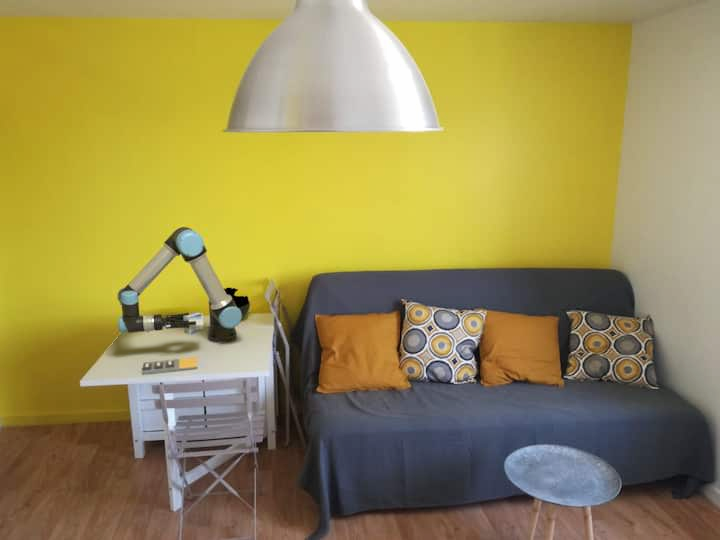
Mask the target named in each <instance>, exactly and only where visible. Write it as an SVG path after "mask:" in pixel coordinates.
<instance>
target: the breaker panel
mask: <svg viewBox="0 0 720 540" xmlns="http://www.w3.org/2000/svg"><path fill="white" fill-rule="evenodd" d="M194 370H198V360H197V356H193V357H191V356H190V357H183V358H182V357H181V358H176V359H174V358H173V359H164V360H155V361H145V362H143V364H142V370H141V371H142V372H141V375H142V374H143V375H142V376H145V375H144V374H148V375H156V374H165V373H174V372H175V373H176V372H183V371H184V372H185V371H194Z"/></svg>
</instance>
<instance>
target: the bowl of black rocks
mask: <svg viewBox="0 0 720 540" xmlns="http://www.w3.org/2000/svg"><path fill="white" fill-rule="evenodd" d="M223 288H224V290H225V292H226V294H227V295H231V297H232V299H233V300H234V302H235V304H236V306H237V308H239V309H240V311H241V313H242V318H244V317H245V316H246V315H247V314H248V312H249V310H250V307H251V302H250V301H249V296H248V295H245V296H244V295H235V294H236V293H237V292H238V291H239V289H238V288H235V287H233V288H232V286H231V287H226V288H225V287H223Z"/></svg>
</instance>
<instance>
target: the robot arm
mask: <svg viewBox="0 0 720 540" xmlns="http://www.w3.org/2000/svg"><path fill="white" fill-rule="evenodd" d="M207 253H208V250H207V248H206V246H205V244H204V239H203V237H202V236H201V234H200V233H198V232H197V231H195V230H193V229H192V228H190V227H187V226H186V227H185V226H182V227H179V228H177V229H175V230H174V231H173V232H172V233H171V234H170V236H168V237H167V239H166V240H165V241H164V242H163V246H162V247H161V248H160V249H159V251H157V253H156V254H155V255H154V256H153V257H152V258H151V259H150V260H149V261H148V262H147V263H146V264H145V266H143V267H142V269H141V270H140V271H139V272H138V273H137V274H136V275H135V276H134V277H133V278H132V280H131V281H130V282H129V283H128V284H127V285H126V286H125V287H122V288H120V289H119V290H118V292H117V300H118V302H119V304H120V306H121V313H122V316H121V317H118V322H117V323H118V324H117V327H118V332H120V333H121V334H131V333H140V332H142V333H143V332H147V333H149V332H153V331H155V332H156V331H163V330H164V329H163V328H164V327H165V329H168V330H169V329H184V328H189V326H194V325H202V326H204V316H203V314H204V313H201V314H202V319H195V320H189V321H183V316H186V315H189V312H186V313H178V314H167V315H166V317H163V315H162V314H161V313H160V314H159V313H158V314H153V315H152V314H147V315H146V314H145V315H140V304H139V300H140V299H139V296H141V294H142V293H143V292H144V291H145V290H146V289H147V288H148V286H150V285H151V283H153V281H154V280H155V279H156V278H157V277H158V276H159V275H160V274H161V273H162V272H163V270H164V269H165V268H166V267H167V266H168V265H170V263H171V262H172V261H173V259H175V258H176V257H179V256H181V257H182V259H183V261H184V262H185V263H188V264H190V267H191V268H192V270H193V272H194V274H195V276H196V278H197V279H198V281H199V283H200V285H201V287H202V288H203V290H204V293H205V294H206V296H207V298H208V312H209V328H208V331H207V340H208V341H209V340H210V341H209V342H212V341H213V342H212V343H225V342H224V341H227V342H230V341H229V340H231V341H233V340H232V339H234V338H235V339H237V337H238V332H237V330H236V327H237V326H238V325H240V323H241V321H242V313H241V311H240V309H239V308H237V306H236V304H235V302H234V300H233V299H232V297H231V295H227V294H226V292H225V290H224V288H225V287H224V286H223V285H222V283H221V281H220V279H219V277H218V275H217V273H216V271H215V269H214V267H213V266H212V264H211V262H210V260H209V258H208V256H207ZM235 339H234V340H235Z"/></svg>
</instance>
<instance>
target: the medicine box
mask: <svg viewBox="0 0 720 540" xmlns="http://www.w3.org/2000/svg"><path fill="white" fill-rule="evenodd" d="M202 314H203V313H200V312H196V311H195V312H193V313H190V314H189V315H186V316H183V321H189V320H195V319H202ZM203 330H204V328H203V325H194V326H189V328H183V332H184V334H187V335H193V334H194V335H195V334H196V333H199V332H202V331H203Z"/></svg>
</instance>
